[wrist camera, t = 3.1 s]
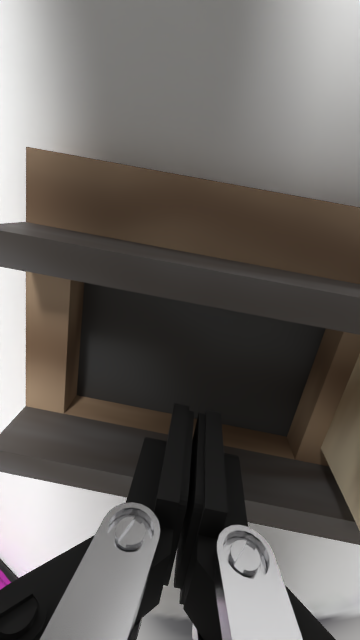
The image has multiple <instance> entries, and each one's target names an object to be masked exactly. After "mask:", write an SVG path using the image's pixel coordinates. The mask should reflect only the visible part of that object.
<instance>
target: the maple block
mask: <svg viewBox="0 0 360 640" xmlns="http://www.w3.org/2000/svg"><path fill="white" fill-rule="evenodd" d="M321 450H322V452H323V454H324V456H325V458H326V460H327V462H328V464H329V467H330V469H331V471H332V473H333V475H334V477H335V479H336V481H337V484H338V486H339V488H340V490H341V492H342V494H343V496H344V498H345V501H346V503H347V505H348V507H349V509H350V511H351V513H352V515H353V518H354V520H355V522H356V524H357V526H358V528H359V530H360V354H359V357H358V359H357V361H356V364H355V366H354V369H353V371H352V374H351V376H350V378H349V381H348V383H347V386H346V388H345V390H344V393H343V395H342V398H341V400H340V403H339V405H338V407H337V410H336V412H335V415H334V417H333V420H332V422H331V424H330V427H329V429H328V432H327V434H326V437H325V439H324V441H323V444H322V446H321Z"/></svg>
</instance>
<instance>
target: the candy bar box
mask: <svg viewBox="0 0 360 640" xmlns="http://www.w3.org/2000/svg"><path fill="white" fill-rule="evenodd" d="M17 579H18V578H17V577H16V576H15V575H14V574H13V573H12V572H11V571H10V570H9V569H8V568H7V567H6V566H5V565H4V564H3V563H2V562H1V560H0V590H1V589H2V588H3V587H5V586H6V585H8V584H9V583H11V582H13V581H15V580H17Z"/></svg>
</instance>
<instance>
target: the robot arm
mask: <svg viewBox="0 0 360 640" xmlns="http://www.w3.org/2000/svg"><path fill="white" fill-rule="evenodd" d="M193 424H194V411H190V410H189V406H186V405H181V404H176V403H174V407H173V412H172V417H171V422H170V428H169V433H168V438H167V441H164V440H159V439H154V438H149V437H145V439H144V442H143V445H142V449H141V452H140V456H139V459H138V463H137V466H136V470H135V473H134V476H133V480H132V483H131V487H130V490H129V494H128V497H127V501H126V503H123V504H120V505H118V506H116V507H114V508H113V509H112V510H110V511H109V512H108V513H107V515H106V516H105V518H104V519H103V521H102V523H101V525H100V527H99V529H98V530H97V532H96V534H95V535H94V536H92V537H91V538H89V539H87V540H85V541H84V542H82V543H80V544H78V545H77V546H75V547H73V548H71V549H69V550H68V551H66V552H64V553H62V554H61V555H59V556H57V557H55V558H54V559H52V560H50V561H48V562H47V563H45V564H43V565H41V566H39V567H38V568H36V569H34V570H32V571H31V572H29V573H27V574H25V575H24V576H22V577H20V578H18V579H17V580H15V581H13V582H11V583H9V584H8V585H6V586H5V587H3V588H2V589H1V590H0V640H136V639H137V636H138V632H139V629H140V626H141V621H142V617H144V616H145V615H146V614H147V613H148V612H149V611H151V610H152V609H153V608H154V607H155V606H157V605H158V604H159V601H160V597H161V593H162V588H163V585H166V586H168V584H169V580H170V576H171V571H172V567H173V563H174V559H175V555H176V551H177V556H176V567H175V577H174V587H175V588H180V589H181V591H180V604H183V605H184V610H185V612H186V614H187V615H188V617H189V618H190V620H191V621H192V623H193V626H192V627H193V628H192V639H193V640H335V639H334V637H333V636H332V635H331V634H330V633H329V632H328V631H327V630H326V629H325V628H324V627H323V626H322V624H321V623H320V622H319V621H318V620H317V619H316V618H315V617H314V616H313V615H312V614H311V613H310V612H309V610H308V609H307V608H306V607H305V606H304V605H303V604H302V603H301V602H300V601H299V600H298V599H297V597H296V596H295V595H294V594H293V593H292V592H291V591H290V590H289V589H288V588H287V587H286V586H285V584H284V581H283V578H282V575H281V572H280V569H279V566H278V563H277V560H276V557H275V555H274V552H273V550H272V548H271V546H270V545H269V543H268V542H267V541H266V539H265V538H264V537H263V536H262V535H260V534H259V533H258V532H257V531H255V530H253V529H251V528H249V527H248V523H247V515H246V507H245V499H244V492H243V484H242V476H241V468H240V461H239V457H238V456H237V455H232V454H227V453H224V451H223V435H222V420H221V413H220V412H216V411H211V410H205V412H204V413H199V414H198V418H197V422H196V426H195V431H194V435H193ZM192 438H193V439H192Z"/></svg>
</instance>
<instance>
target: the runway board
mask: <svg viewBox="0 0 360 640" xmlns="http://www.w3.org/2000/svg"><path fill="white" fill-rule="evenodd" d="M0 267H5V268H11V269H16V270H21V271H26V406H25V408H24V409H23V410H22V411H21V412H20V413H19V414H18V415H17V416H16V417H15V418H14V420H13V421H12V422H11V423H10V424H9V425H8V426H7V427H6V428H5V429H4V430H3V432H2V433H1V434H0V472H4V473H9V474H14V475H19V476H24V477H29V478H34V479H39V480H44V481H49V482H54V483H58V484H63V485H68V486H73V487H78V488H83V489H88V490H93V491H98V492H103V493H108V494H112V495H117V496H122V497H128V494H129V490H130V487H131V483H132V480H133V476H134V473H135V470H136V466H137V463H138V459H139V456H140V452H141V449H142V445H143V442H144V439H145V437H149V438H154V439H159V440H164V441H167V438H168V433H169V428H170V422H171V417H172V412H173V407H174V403H176V404H181V405H186V406H189V410H190V411H194V424H193V435H194V431H195V426H196V422H197V418H198V414H199V413H204V412H205V410H211V411H216V412H220V413H221V420H222V435H223V451H224V453H227V454H232V455H237V456H238V457H239V461H240V468H241V476H242V484H243V492H244V499H245V507H246V515H247V522H250V523H255V524H260V525H265V526H270V527H275V528H280V529H284V530H289V531H294V532H299V533H304V534H309V535H314V536H319V537H324V538H329V539H334V540H339V541H343V542H348V543H353V544H358V545H360V530H359V528H358V526H357V524H356V522H355V520H354V518H353V515H352V513H351V511H350V509H349V507H348V505H347V503H346V501H345V498H344V496H343V494H342V492H341V490H340V488H339V486H338V484H337V481H336V479H335V477H334V475H333V473H332V471H331V469H330V467H329V464H328V462H327V460H326V458H325V456H324V454H323V452H322V450H321V446H322V444H323V441H324V439H325V437H326V434H327V432H328V429H329V427H330V424H331V422H332V420H333V417H334V415H335V412H336V410H337V407H338V405H339V403H340V400H341V398H342V395H343V393H344V390H345V388H346V386H347V383H348V381H349V378H350V376H351V374H352V371H353V369H354V366H355V364H356V361H357V359H358V357H359V354H360V207H354V206H349V205H343V204H338V203H332V202H327V201H321V200H316V199H310V198H305V197H299V196H294V195H288V194H283V193H277V192H272V191H266V190H261V189H255V188H250V187H244V186H239V185H233V184H228V183H222V182H217V181H211V180H206V179H200V178H195V177H189V176H184V175H178V174H173V173H167V172H162V171H156V170H151V169H145V168H140V167H134V166H129V165H124V164H118V163H113V162H107V161H102V160H96V159H91V158H85V157H80V156H74V155H69V154H63V153H58V152H52V151H47V150H41V149H36V148H30V147H26V222H19V223H6V224H0ZM192 439H193V438H192Z"/></svg>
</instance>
